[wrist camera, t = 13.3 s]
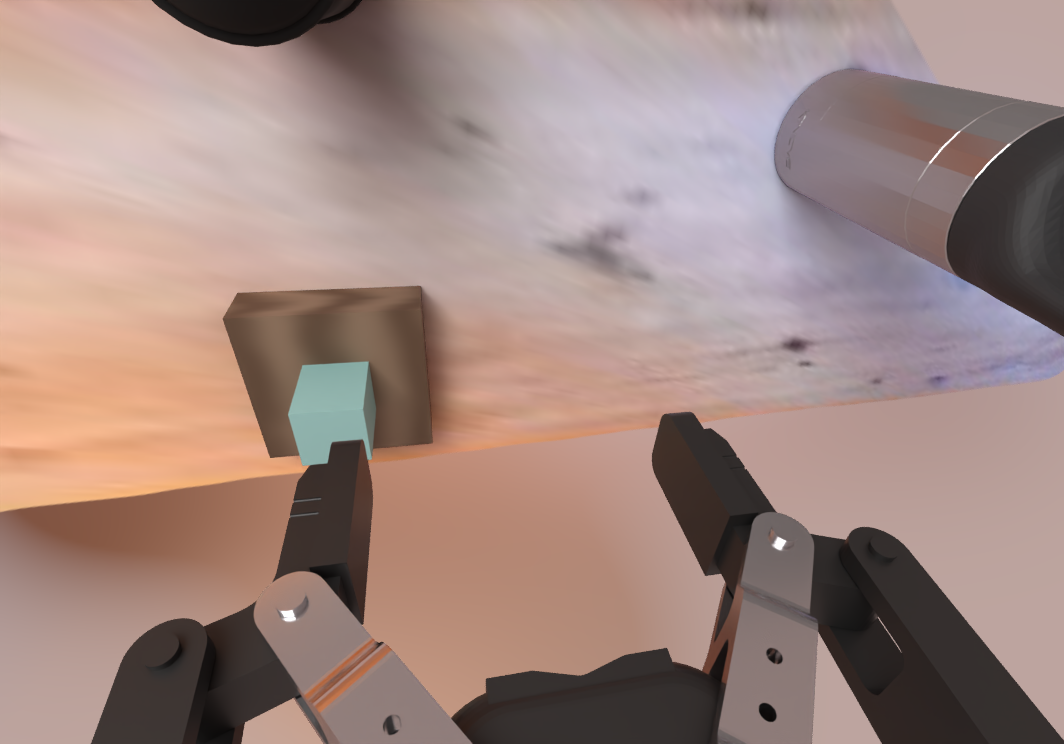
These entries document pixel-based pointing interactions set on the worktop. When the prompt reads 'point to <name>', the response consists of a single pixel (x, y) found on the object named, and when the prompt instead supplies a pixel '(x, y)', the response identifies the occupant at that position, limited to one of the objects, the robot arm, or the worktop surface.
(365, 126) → the worktop surface
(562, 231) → the worktop surface
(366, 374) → the teal block
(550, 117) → the worktop surface
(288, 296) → the stacking base
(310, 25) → the aerosol can
